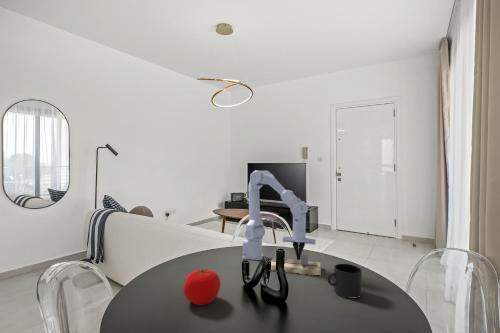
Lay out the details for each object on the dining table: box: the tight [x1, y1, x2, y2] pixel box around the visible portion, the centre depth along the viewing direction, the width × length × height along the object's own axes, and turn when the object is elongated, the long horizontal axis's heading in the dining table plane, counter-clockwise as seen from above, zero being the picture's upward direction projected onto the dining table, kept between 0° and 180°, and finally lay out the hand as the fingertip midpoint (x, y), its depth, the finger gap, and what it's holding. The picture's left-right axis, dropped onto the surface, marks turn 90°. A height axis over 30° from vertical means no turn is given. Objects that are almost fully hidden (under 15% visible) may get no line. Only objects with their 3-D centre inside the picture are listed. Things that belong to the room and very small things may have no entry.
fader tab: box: [300, 253, 309, 266], centre depth 117 cm, size 3×4×4 cm
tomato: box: [183, 268, 221, 306], centre depth 88 cm, size 11×12×10 cm
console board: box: [270, 257, 322, 277], centre depth 118 cm, size 22×10×2 cm, turn 76°
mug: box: [327, 263, 363, 297], centre depth 96 cm, size 9×12×9 cm
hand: (298, 259), depth 118 cm, fingers closed
